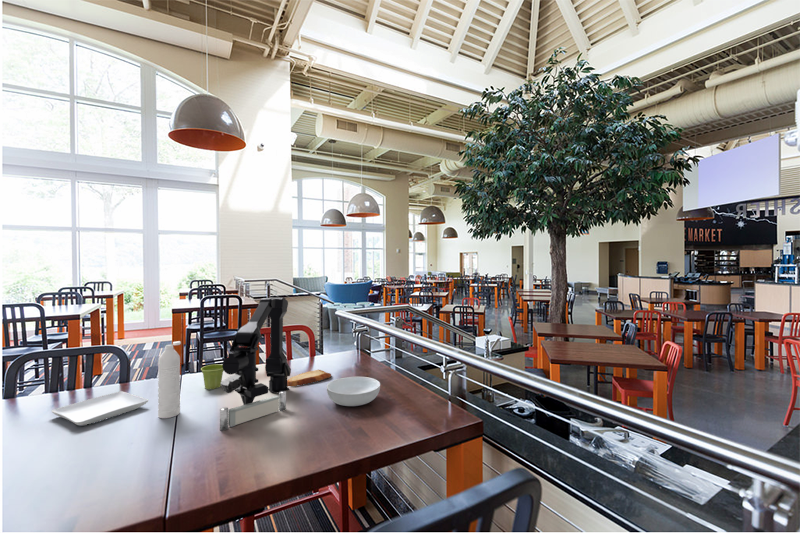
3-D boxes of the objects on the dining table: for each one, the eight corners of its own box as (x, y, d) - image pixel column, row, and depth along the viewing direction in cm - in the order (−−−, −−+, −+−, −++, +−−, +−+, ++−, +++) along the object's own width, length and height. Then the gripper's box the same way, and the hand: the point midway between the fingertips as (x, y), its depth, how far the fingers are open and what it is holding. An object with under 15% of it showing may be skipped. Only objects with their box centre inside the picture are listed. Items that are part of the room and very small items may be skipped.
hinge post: (283, 407, 130) (283, 390, 130) (287, 409, 128) (287, 392, 128) (277, 409, 128) (277, 392, 128) (281, 411, 126) (281, 393, 126)
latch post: (226, 426, 115) (226, 406, 115) (229, 428, 113) (229, 408, 113) (218, 428, 113) (218, 409, 113) (221, 431, 111) (221, 411, 111)
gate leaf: (276, 409, 127) (276, 395, 127) (279, 411, 126) (279, 396, 126) (228, 425, 115) (228, 409, 115) (230, 426, 114) (230, 410, 114)
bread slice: (283, 387, 152) (283, 378, 152) (297, 374, 170) (297, 366, 170) (323, 388, 151) (323, 379, 151) (333, 375, 169) (333, 367, 169)
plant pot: (227, 382, 157) (227, 363, 157) (222, 389, 148) (222, 369, 148) (204, 384, 155) (204, 365, 155) (197, 391, 146) (197, 371, 146)
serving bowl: (383, 393, 145) (383, 376, 145) (375, 414, 124) (375, 395, 124) (335, 391, 147) (335, 375, 147) (319, 411, 126) (319, 393, 126)
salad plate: (49, 419, 121) (49, 409, 121) (121, 398, 140) (121, 389, 140) (77, 432, 111) (77, 422, 111) (150, 408, 130) (150, 399, 130)
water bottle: (172, 418, 120) (172, 346, 120) (153, 418, 120) (153, 346, 120) (187, 408, 129) (187, 341, 129) (170, 408, 129) (170, 341, 129)
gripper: (212, 365, 123) (212, 409, 123) (236, 376, 111) (236, 425, 111) (243, 359, 131) (243, 400, 131) (269, 368, 119) (269, 414, 119)
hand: (247, 409), depth 123 cm, fingers closed
